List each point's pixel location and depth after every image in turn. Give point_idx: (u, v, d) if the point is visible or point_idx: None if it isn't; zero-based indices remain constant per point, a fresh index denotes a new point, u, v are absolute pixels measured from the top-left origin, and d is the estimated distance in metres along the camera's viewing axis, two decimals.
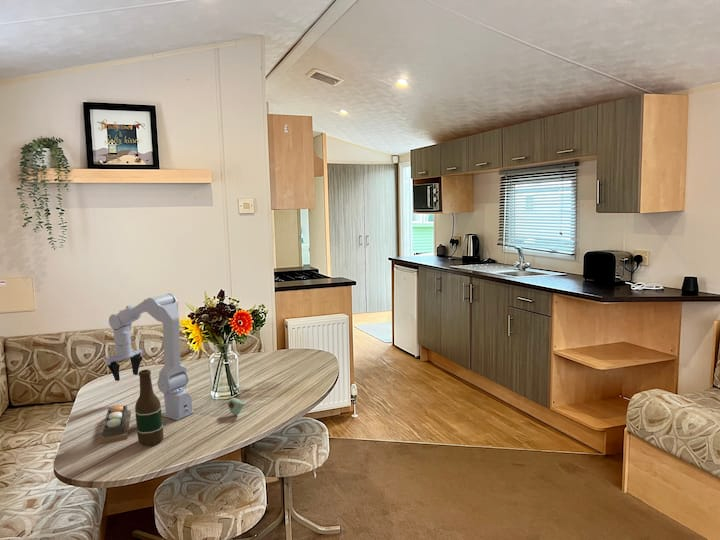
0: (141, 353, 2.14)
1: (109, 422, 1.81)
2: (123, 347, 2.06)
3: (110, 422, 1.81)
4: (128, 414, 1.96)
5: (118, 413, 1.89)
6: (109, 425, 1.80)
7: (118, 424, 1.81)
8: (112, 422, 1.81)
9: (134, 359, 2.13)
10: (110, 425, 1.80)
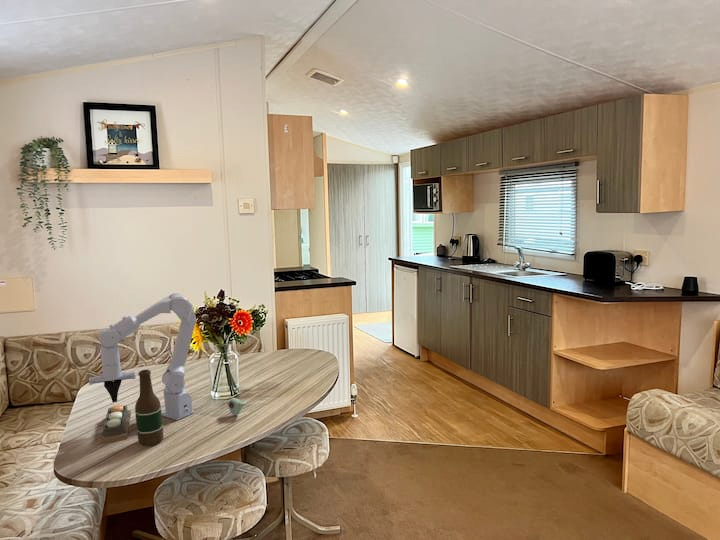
0: (133, 377, 1.88)
1: (109, 422, 1.81)
2: (106, 368, 1.83)
3: (110, 422, 1.81)
4: (128, 414, 1.96)
5: (118, 413, 1.89)
6: (109, 425, 1.80)
7: (118, 424, 1.81)
8: (112, 422, 1.81)
9: None
10: (110, 425, 1.80)
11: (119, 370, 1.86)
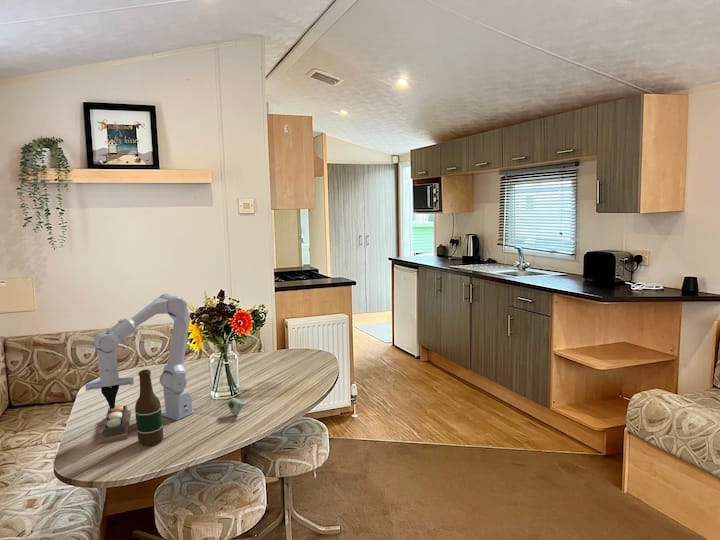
0: (131, 382, 1.83)
1: (109, 422, 1.81)
2: (103, 373, 1.78)
3: (110, 422, 1.81)
4: (128, 414, 1.96)
5: (118, 413, 1.89)
6: (109, 425, 1.80)
7: (118, 424, 1.81)
8: (112, 422, 1.81)
9: None
10: (110, 425, 1.80)
11: (117, 375, 1.81)
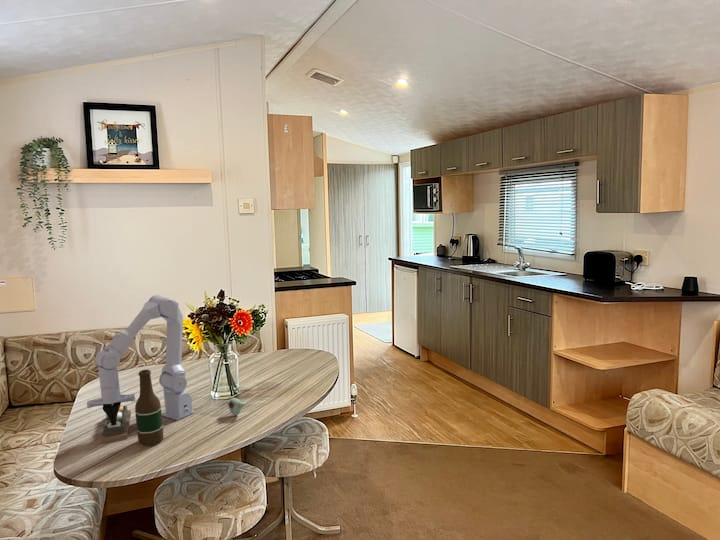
0: (133, 399, 1.82)
1: (109, 425, 1.81)
2: (104, 391, 1.78)
3: (110, 425, 1.81)
4: (128, 414, 1.96)
5: (118, 413, 1.89)
6: None
7: None
8: None
9: None
10: None
11: (118, 392, 1.80)
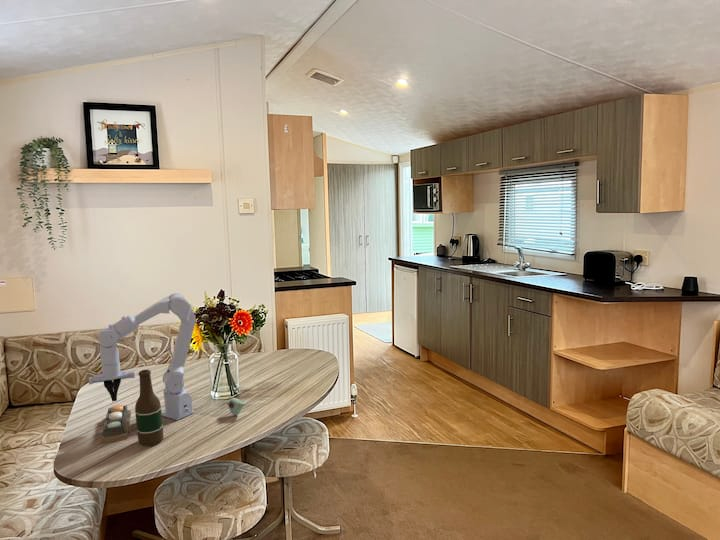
0: (132, 376, 1.89)
1: (109, 425, 1.81)
2: (105, 367, 1.84)
3: (110, 425, 1.81)
4: (128, 414, 1.96)
5: (118, 413, 1.89)
6: None
7: None
8: (112, 424, 1.82)
9: None
10: None
11: (119, 369, 1.87)
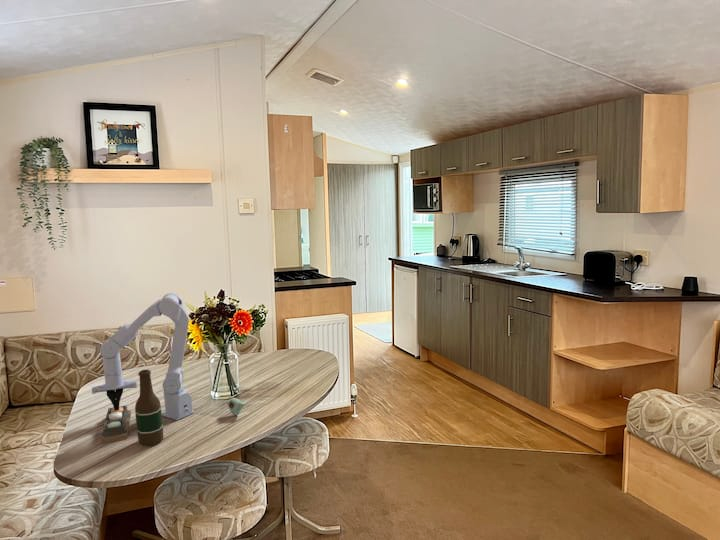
0: (134, 386, 1.94)
1: (109, 425, 1.81)
2: (108, 377, 1.90)
3: (110, 425, 1.81)
4: (128, 414, 1.96)
5: (118, 413, 1.89)
6: None
7: None
8: (112, 424, 1.82)
9: None
10: None
11: (121, 379, 1.92)
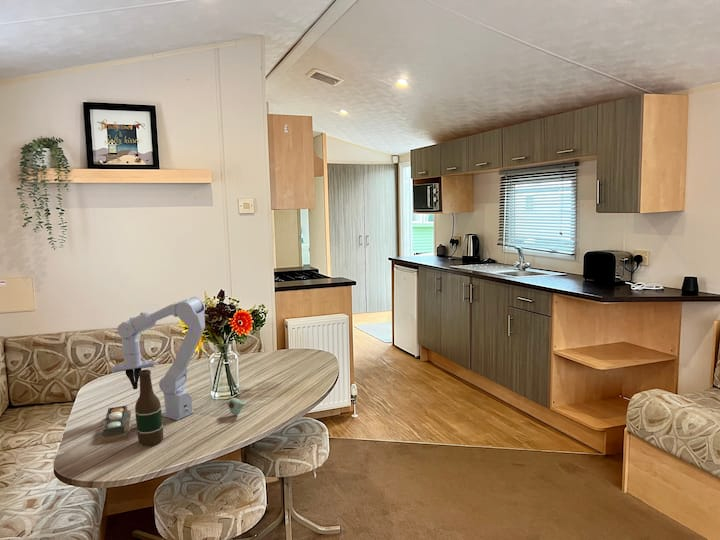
0: (152, 365, 2.00)
1: (109, 425, 1.81)
2: (127, 357, 1.95)
3: (110, 425, 1.81)
4: (128, 414, 1.96)
5: (118, 413, 1.89)
6: None
7: None
8: (112, 424, 1.82)
9: (134, 372, 1.99)
10: None
11: (139, 359, 1.98)
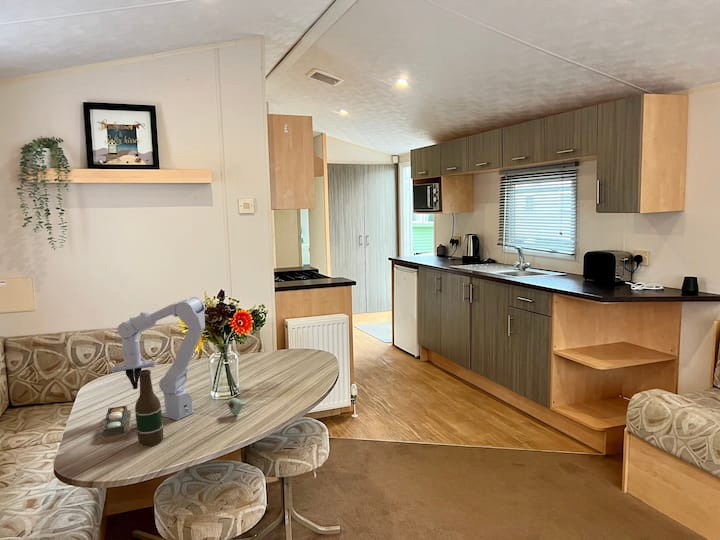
0: (152, 365, 2.00)
1: (109, 425, 1.81)
2: (127, 357, 1.95)
3: (110, 425, 1.81)
4: (128, 414, 1.96)
5: (118, 413, 1.89)
6: None
7: None
8: (112, 424, 1.82)
9: (134, 372, 1.99)
10: None
11: (139, 359, 1.98)
